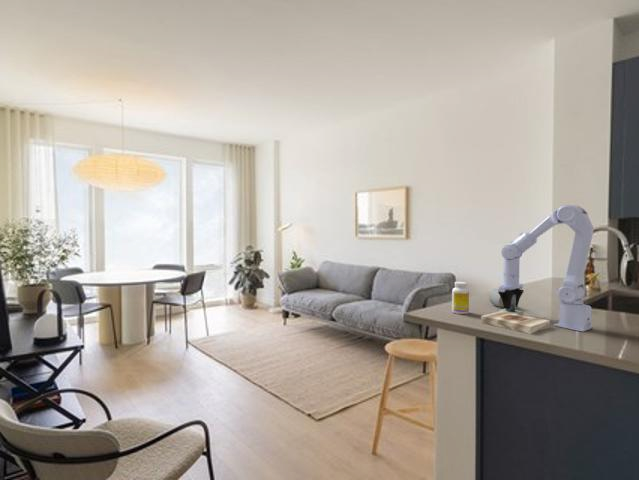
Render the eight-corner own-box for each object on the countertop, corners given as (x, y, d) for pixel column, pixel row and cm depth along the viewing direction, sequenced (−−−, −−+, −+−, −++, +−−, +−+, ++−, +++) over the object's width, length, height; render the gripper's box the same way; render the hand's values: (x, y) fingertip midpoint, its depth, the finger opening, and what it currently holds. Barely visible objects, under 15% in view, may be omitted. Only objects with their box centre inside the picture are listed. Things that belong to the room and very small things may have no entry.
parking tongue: (523, 316, 151) (523, 311, 151) (514, 318, 147) (514, 313, 147) (506, 312, 156) (506, 308, 156) (497, 315, 152) (497, 310, 152)
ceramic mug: (499, 309, 163) (500, 291, 163) (488, 305, 172) (488, 288, 171) (521, 308, 165) (522, 291, 165) (509, 304, 173) (509, 288, 173)
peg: (517, 311, 151) (517, 294, 151) (512, 312, 149) (512, 295, 149) (508, 309, 154) (508, 292, 154) (503, 310, 152) (504, 293, 152)
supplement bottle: (471, 314, 154) (471, 283, 153) (454, 314, 154) (455, 283, 153) (465, 310, 160) (465, 281, 160) (449, 310, 160) (450, 281, 160)
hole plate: (549, 327, 135) (549, 320, 135) (530, 333, 127) (530, 326, 127) (501, 317, 150) (501, 310, 149) (481, 322, 142) (481, 315, 141)
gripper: (511, 272, 158) (510, 303, 159) (491, 274, 150) (491, 308, 151) (528, 273, 152) (527, 306, 153) (509, 276, 144) (508, 311, 145)
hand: (510, 307), depth 151 cm, fingers open, 5 cm apart
